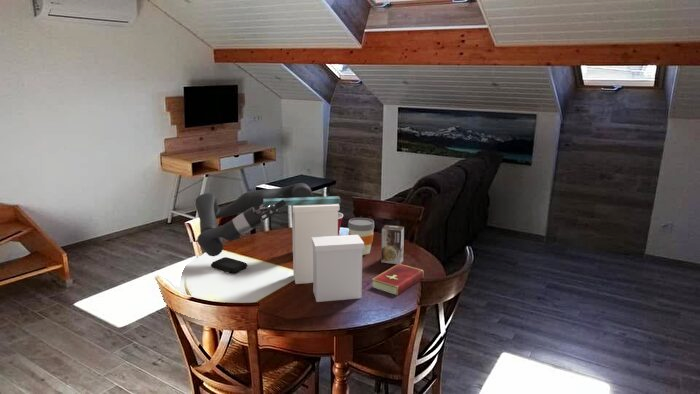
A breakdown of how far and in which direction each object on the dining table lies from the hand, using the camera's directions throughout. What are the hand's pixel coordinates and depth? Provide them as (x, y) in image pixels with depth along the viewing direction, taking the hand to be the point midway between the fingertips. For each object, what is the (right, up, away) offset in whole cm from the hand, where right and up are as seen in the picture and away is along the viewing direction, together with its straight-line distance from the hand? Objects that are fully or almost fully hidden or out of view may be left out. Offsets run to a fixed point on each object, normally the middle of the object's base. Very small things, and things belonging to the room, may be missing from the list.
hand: (284, 199), depth 183 cm
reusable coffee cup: (+31, -25, +41) cm, 58 cm away
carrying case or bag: (-27, -31, +19) cm, 45 cm away
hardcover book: (+45, -35, +8) cm, 58 cm away
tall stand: (+11, -33, +11) cm, 36 cm away
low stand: (+21, -37, -4) cm, 42 cm away
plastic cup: (+17, -20, +62) cm, 67 cm away
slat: (+7, -2, +2) cm, 7 cm away
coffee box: (+45, -29, +30) cm, 61 cm away
